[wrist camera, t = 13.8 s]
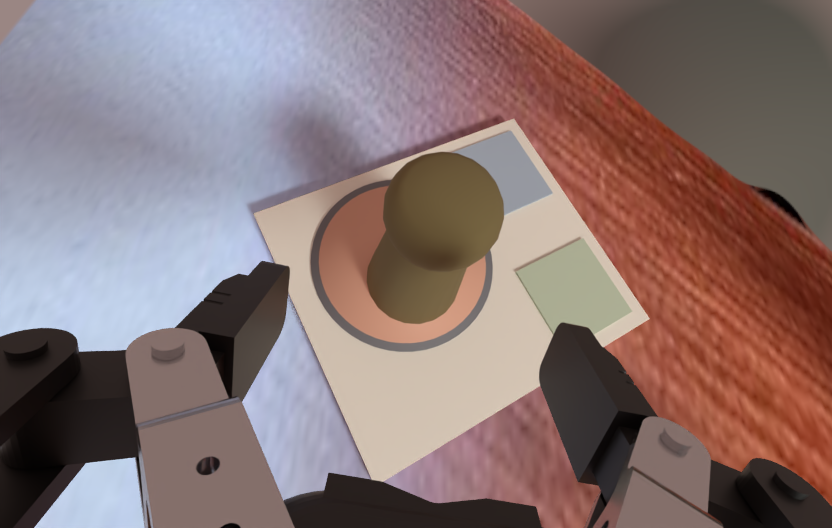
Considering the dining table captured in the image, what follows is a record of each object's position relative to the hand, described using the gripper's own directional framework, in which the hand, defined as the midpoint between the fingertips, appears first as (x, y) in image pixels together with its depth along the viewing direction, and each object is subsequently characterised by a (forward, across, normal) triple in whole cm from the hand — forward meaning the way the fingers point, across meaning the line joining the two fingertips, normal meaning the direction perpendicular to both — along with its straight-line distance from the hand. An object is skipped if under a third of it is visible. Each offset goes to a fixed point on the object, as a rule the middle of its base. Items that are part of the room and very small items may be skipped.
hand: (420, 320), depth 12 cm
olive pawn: (+13, -1, +5) cm, 14 cm away
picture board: (+15, -4, +5) cm, 16 cm away
